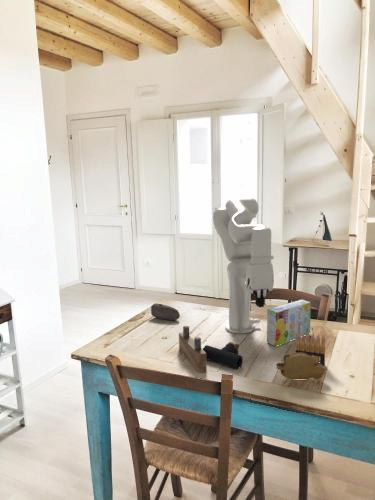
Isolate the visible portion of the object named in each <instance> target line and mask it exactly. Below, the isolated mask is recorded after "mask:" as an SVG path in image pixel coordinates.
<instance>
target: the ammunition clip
mask: <svg viewBox="0 0 375 500" xmlns="http://www.w3.org/2000/svg"><path fill="white" fill-rule="evenodd" d="M300 339H301V340H300ZM320 340H321V341H320ZM299 352H302V353H307V354H309V355H312V354H313V356H314V357H315V360H316V362H318V363H319V362H320V363H321V364H322V365H325V366H326V364H325V363H326V339H325V335H324V334H323V335H322V337H321V339H320V335H319V334H317V336H316V340H315V334H314V333H312V334H311V338H310V335H309V333H308V334H307V336H304V333H302V337H301V338H300V335H299V332H298V333H297V338H296V340H295V350H294V353H299Z"/></svg>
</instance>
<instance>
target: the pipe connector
mask: <svg viewBox="0 0 375 500" xmlns="http://www.w3.org/2000/svg"><path fill="white" fill-rule="evenodd" d="M202 349H203V350H204V351H205V352H206V360H209V361H211V362H215V363H217V364H221V365H223V366H226V367H229V368H232V369H235V370H238V369H240V368H241V367H242V365H243V362H244V361H243V356H242V355H241V354H240V351H239V349H240V344H239V343H234V342H231V341H230V342H228V343H226V344H225V346H224V347H222V348H217V347H216V346H215V347H214V346H211V345H208V344H206V345H204V347H203V348H202ZM239 367H240V368H239Z"/></svg>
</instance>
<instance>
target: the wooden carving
mask: <svg viewBox="0 0 375 500" xmlns="http://www.w3.org/2000/svg"><path fill="white" fill-rule="evenodd" d="M275 365H276V367H275V368H276V369H277V370H279V371H280V375H281V376H282V377H284V378H286V379H289V380H291V379H308V380H310V379H315V380H321V378H322V377H323V374H324V373H325V372H326V370H327V369H326V367H324V365H322V364H321V363H318V362H316V360H315V357H314V356H313V354H312V355H309V354H307V353H302V352H299V353H295V352H293V353H288V354H284V356H283V362H277V363H276V364H275Z"/></svg>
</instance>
